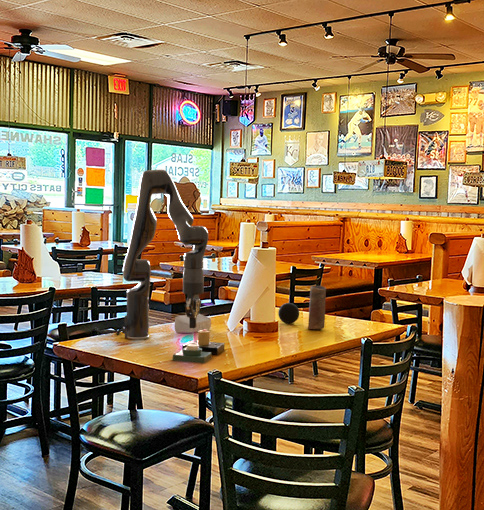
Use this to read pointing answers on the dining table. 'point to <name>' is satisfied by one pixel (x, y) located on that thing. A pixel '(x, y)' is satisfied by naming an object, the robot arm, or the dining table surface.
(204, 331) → the knob
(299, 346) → the dining table surface
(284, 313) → the decorative ball
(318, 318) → the candle
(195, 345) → the button
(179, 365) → the dining table surface
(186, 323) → the stone
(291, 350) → the dining table surface
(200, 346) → the panel
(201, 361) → the button block
